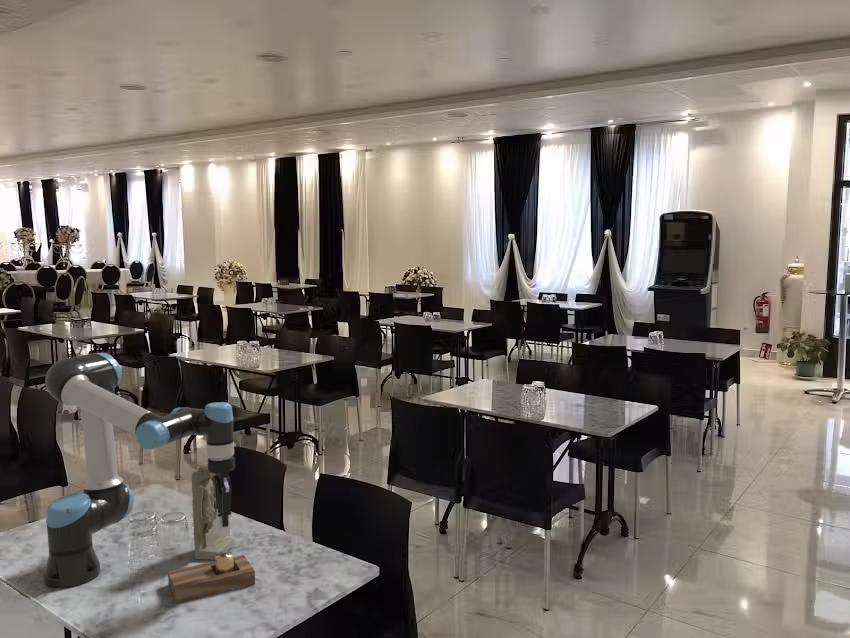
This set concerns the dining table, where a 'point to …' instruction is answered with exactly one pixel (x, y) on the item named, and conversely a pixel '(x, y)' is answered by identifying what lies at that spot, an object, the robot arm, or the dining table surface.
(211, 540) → the sculpture
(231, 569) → the bushing
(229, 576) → the block
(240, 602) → the dining table surface
